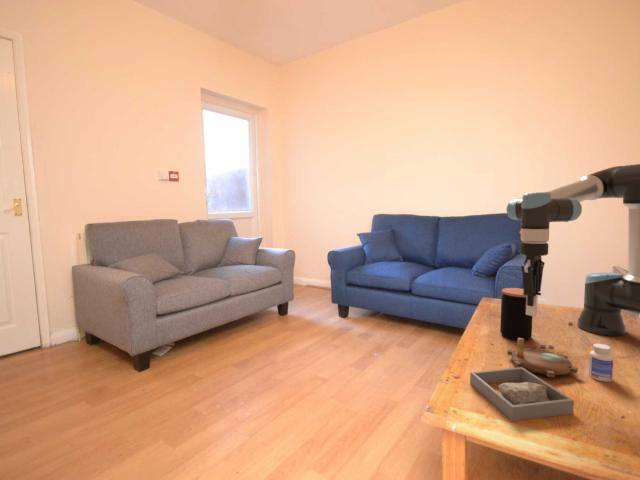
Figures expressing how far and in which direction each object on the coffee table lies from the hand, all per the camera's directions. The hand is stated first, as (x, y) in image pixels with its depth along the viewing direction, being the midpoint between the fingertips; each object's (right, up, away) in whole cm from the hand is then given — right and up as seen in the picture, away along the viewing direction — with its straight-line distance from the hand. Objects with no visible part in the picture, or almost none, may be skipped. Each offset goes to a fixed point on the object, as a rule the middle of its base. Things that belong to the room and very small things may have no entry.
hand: (531, 314), depth 110 cm
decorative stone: (-14, -19, -19) cm, 30 cm away
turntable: (+2, -15, -1) cm, 15 cm away
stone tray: (-15, -18, -17) cm, 29 cm away
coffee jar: (+9, -14, +24) cm, 29 cm away
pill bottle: (+15, -17, -8) cm, 24 cm away
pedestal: (+2, -16, -1) cm, 17 cm away
